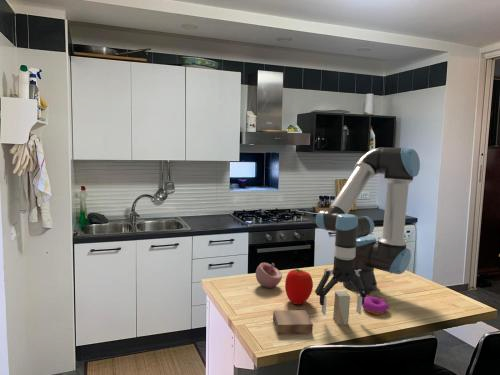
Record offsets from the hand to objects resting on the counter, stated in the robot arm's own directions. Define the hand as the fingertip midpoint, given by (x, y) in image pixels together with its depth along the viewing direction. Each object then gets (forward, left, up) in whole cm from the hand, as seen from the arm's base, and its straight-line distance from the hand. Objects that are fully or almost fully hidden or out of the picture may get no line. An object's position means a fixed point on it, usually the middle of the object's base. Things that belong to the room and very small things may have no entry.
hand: (341, 313), depth 141 cm
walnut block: (+19, +3, -4) cm, 20 cm away
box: (0, 0, -4) cm, 4 cm away
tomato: (+12, -18, -4) cm, 22 cm away
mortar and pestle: (+22, -35, -4) cm, 41 cm away
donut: (-17, -10, -4) cm, 20 cm away
